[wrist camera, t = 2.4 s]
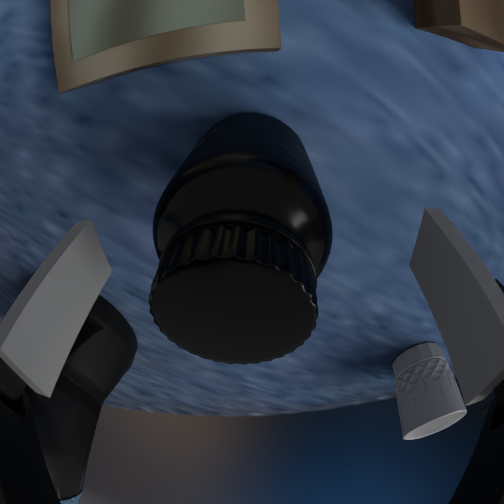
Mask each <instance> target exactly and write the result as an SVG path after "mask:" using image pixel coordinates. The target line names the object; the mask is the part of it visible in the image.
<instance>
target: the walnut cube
mask: <svg viewBox="0 0 504 504" xmlns="http://www.w3.org/2000/svg"><path fill="white" fill-rule="evenodd" d="M413 1H414V12H415V26H416V29H420V30H423V31H427V32H430V33H434V34H437V35H440V36H443V37H446V38H449V39H452V40H455V41H458V42H460V43H463V44H466V45H468V46H471V47H473V48H479V49H487V50H494V51H501V52H504V0H413Z"/></svg>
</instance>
